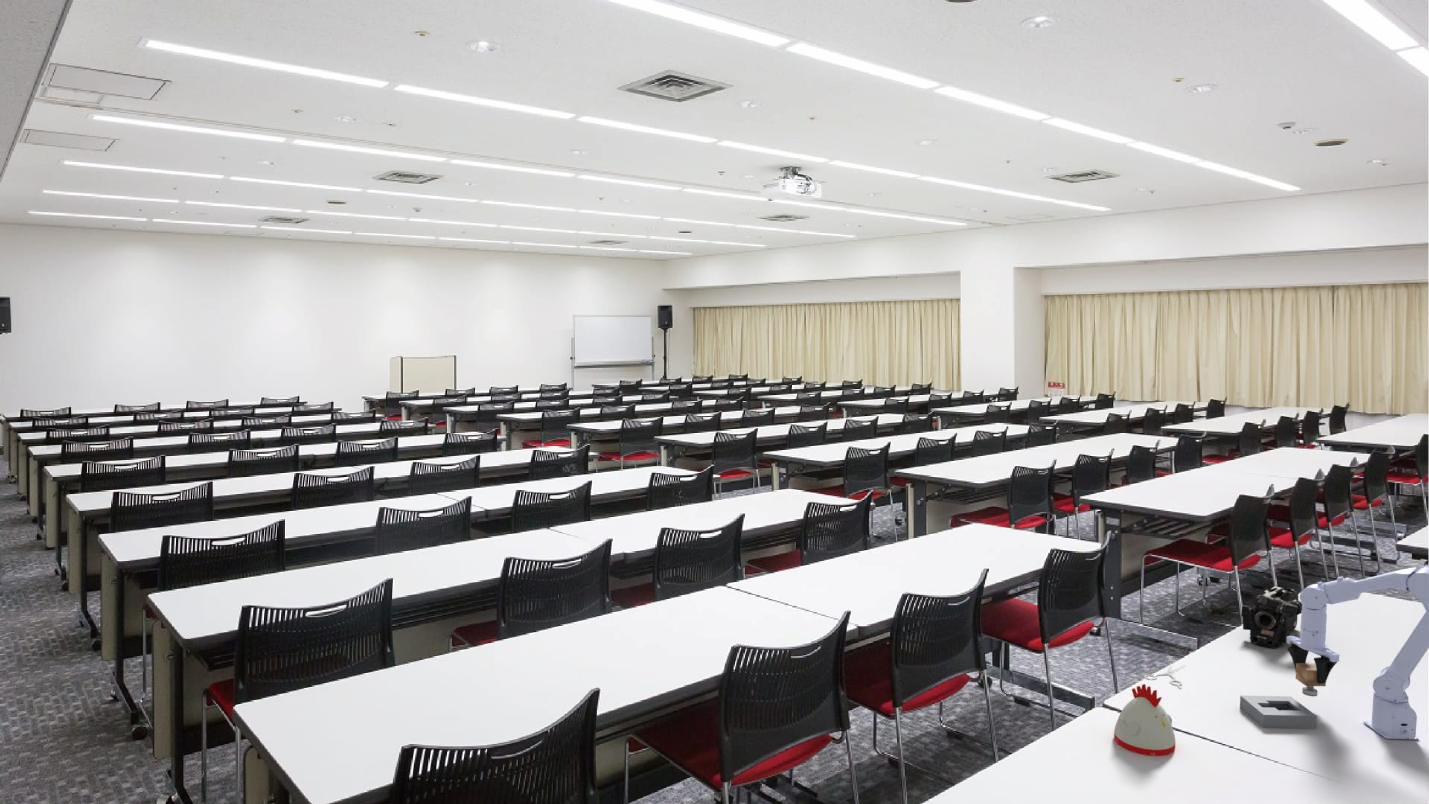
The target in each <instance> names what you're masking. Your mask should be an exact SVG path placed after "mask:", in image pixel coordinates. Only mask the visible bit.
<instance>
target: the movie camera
mask: <svg viewBox="0 0 1429 804" xmlns="http://www.w3.org/2000/svg"><path fill="white" fill-rule="evenodd" d="M1299 598H1300V595H1299V592H1298V591H1295V590H1294V589H1293V588H1291V589H1290V588H1284V587H1283V588H1282V587H1279V586H1273V587H1272V588H1270V589H1266V590H1264V591H1263V594H1258V595H1257V596H1255V601H1254V606H1252V607H1250V606H1249V605H1245V604H1244V605H1243V604H1242V606H1241V617H1242V629H1243V630H1244V631H1249V639H1250V640H1249V641H1250V642H1251V643H1253V644H1254V645H1257V646H1261V647H1267V648H1271V649H1278V648H1279V647H1280V646H1281V645H1283V644H1288V643H1287V636H1290V633H1291V632H1293V631H1294V630H1296V628H1297V625H1298V616H1299V615H1301V611H1302V603H1301V601H1300V599H1299ZM1254 639H1257V640H1256V641H1255V640H1254ZM1268 642H1271V643H1272V644H1269V643H1268Z"/></svg>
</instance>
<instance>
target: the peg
mask: <svg viewBox="0 0 1429 804" xmlns="http://www.w3.org/2000/svg"><path fill="white" fill-rule="evenodd" d="M1295 680H1296V681H1298V682H1300V683H1301V684H1303V685H1304V687H1302V689H1301V690H1302V691H1301V693H1302V694H1303V695H1305V696H1308V697H1318V690H1317V688H1315V687H1326V685H1327V682H1326V683H1322V684H1319V683H1317V669H1316V664H1315V662H1314V663H1313V662H1311V663H1310V662H1308V663H1307V662H1306V663H1296V671H1295Z"/></svg>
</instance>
